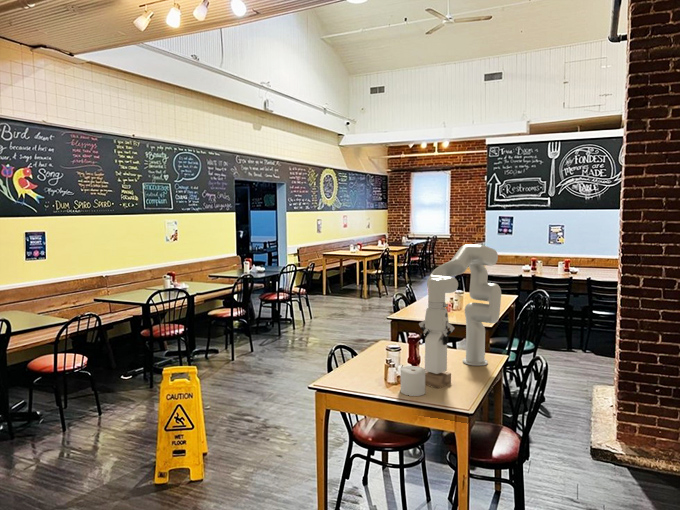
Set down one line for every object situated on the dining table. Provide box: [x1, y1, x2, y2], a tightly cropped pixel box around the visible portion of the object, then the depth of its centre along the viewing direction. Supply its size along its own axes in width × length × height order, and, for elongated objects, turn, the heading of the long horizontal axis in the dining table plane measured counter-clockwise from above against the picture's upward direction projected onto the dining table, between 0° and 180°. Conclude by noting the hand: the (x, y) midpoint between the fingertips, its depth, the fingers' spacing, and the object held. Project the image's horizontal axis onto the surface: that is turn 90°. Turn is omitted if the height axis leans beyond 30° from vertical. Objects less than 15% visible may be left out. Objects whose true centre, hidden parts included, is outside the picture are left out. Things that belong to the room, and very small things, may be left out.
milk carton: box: [424, 330, 448, 374], centre depth 227 cm, size 7×7×19 cm
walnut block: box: [425, 371, 452, 389], centre depth 228 cm, size 10×10×5 cm
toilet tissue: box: [400, 364, 426, 397], centre depth 216 cm, size 11×12×10 cm
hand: (436, 342), depth 227 cm, fingers closed on milk carton, 8 cm apart
